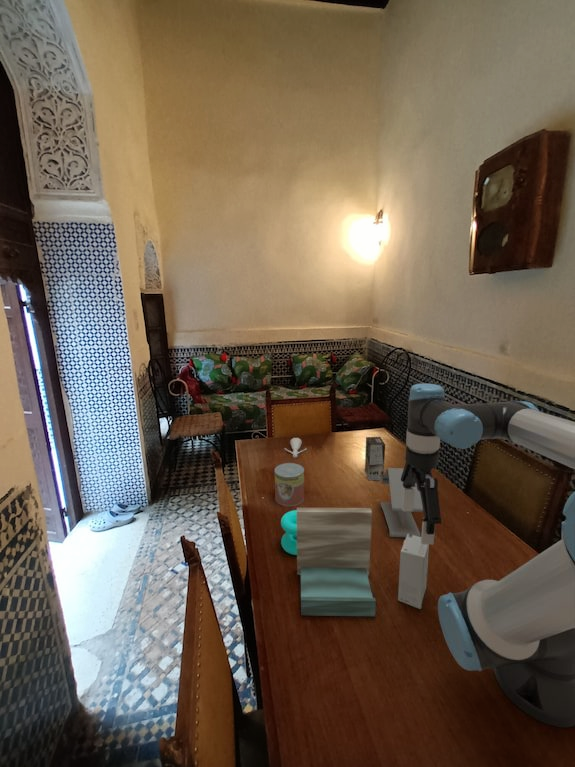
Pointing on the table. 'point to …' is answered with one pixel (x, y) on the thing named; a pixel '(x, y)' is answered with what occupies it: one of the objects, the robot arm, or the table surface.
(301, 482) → the canned food
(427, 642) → the table surface
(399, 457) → the table surface
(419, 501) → the folded metal stand
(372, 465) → the coffee box
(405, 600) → the skincare box
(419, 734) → the table surface
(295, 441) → the woman figurine
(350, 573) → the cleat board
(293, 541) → the donuts
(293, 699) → the table surface
